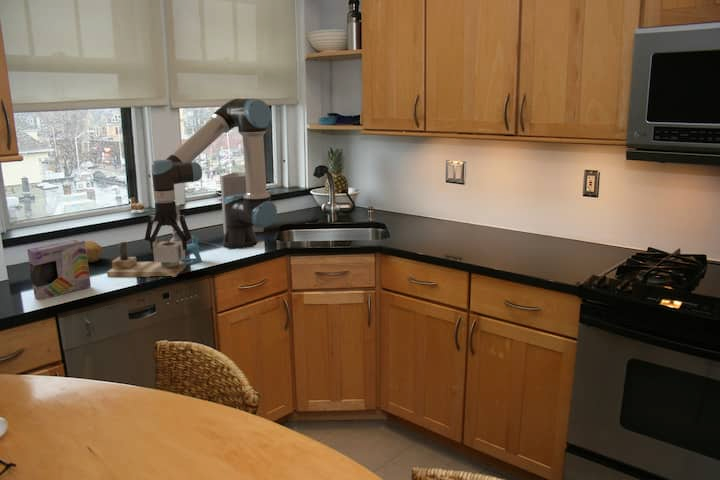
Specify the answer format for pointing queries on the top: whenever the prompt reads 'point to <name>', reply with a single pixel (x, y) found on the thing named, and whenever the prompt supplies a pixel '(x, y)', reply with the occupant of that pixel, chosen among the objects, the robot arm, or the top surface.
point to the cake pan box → (59, 268)
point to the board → (142, 266)
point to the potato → (93, 251)
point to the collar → (167, 252)
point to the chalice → (176, 221)
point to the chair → (195, 250)
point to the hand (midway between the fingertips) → (169, 257)
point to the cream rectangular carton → (233, 192)
